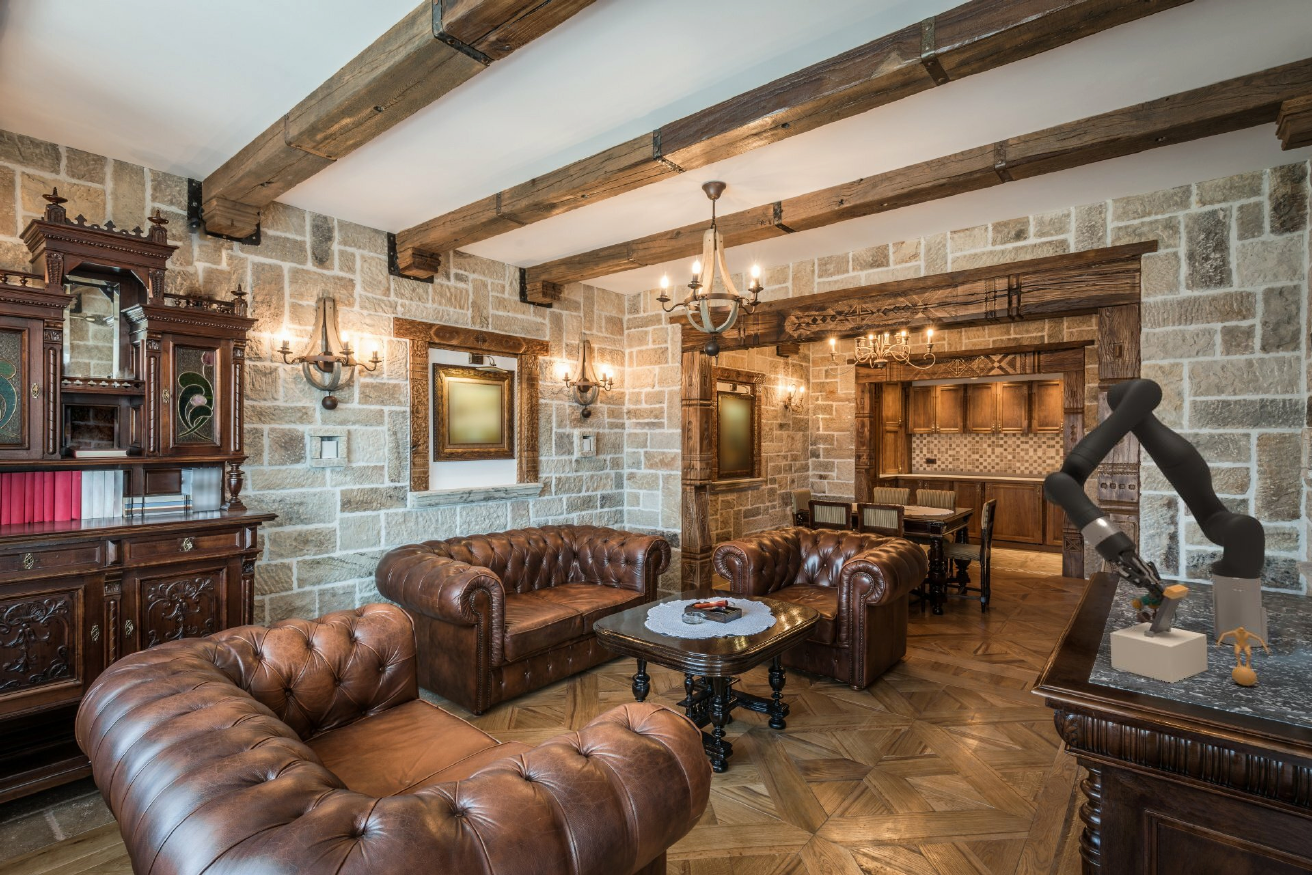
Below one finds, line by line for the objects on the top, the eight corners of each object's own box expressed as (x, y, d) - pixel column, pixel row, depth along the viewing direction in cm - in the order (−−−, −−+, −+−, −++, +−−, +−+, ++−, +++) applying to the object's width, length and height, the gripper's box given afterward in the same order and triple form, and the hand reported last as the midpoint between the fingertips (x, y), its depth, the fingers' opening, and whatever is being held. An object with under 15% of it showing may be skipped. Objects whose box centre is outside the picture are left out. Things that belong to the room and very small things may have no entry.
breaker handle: (1145, 631, 145) (1165, 587, 142) (1158, 627, 148) (1179, 584, 144) (1155, 637, 144) (1175, 592, 140) (1168, 632, 147) (1189, 588, 143)
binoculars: (1172, 631, 179) (1158, 597, 184) (1192, 621, 171) (1176, 586, 177) (1137, 631, 180) (1124, 597, 185) (1155, 621, 172) (1141, 586, 177)
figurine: (1219, 683, 136) (1217, 628, 136) (1217, 675, 141) (1215, 621, 141) (1272, 692, 131) (1270, 634, 131) (1268, 683, 136) (1266, 627, 136)
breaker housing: (1111, 666, 147) (1110, 627, 148) (1147, 654, 155) (1145, 617, 155) (1172, 683, 137) (1170, 641, 137) (1207, 669, 144) (1206, 629, 144)
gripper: (1104, 532, 149) (1164, 595, 139) (1134, 527, 155) (1194, 588, 145) (1080, 550, 154) (1137, 613, 144) (1111, 545, 160) (1167, 605, 149)
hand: (1166, 600), depth 144 cm, fingers closed
